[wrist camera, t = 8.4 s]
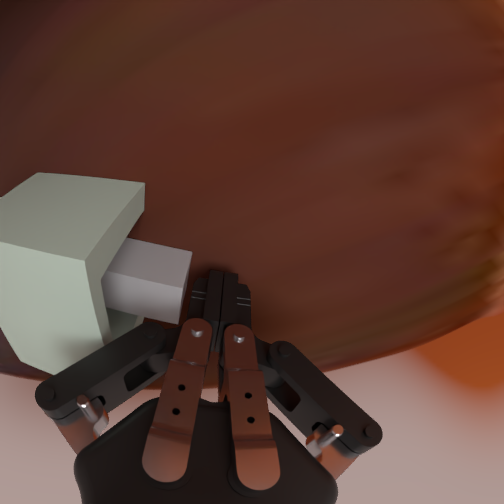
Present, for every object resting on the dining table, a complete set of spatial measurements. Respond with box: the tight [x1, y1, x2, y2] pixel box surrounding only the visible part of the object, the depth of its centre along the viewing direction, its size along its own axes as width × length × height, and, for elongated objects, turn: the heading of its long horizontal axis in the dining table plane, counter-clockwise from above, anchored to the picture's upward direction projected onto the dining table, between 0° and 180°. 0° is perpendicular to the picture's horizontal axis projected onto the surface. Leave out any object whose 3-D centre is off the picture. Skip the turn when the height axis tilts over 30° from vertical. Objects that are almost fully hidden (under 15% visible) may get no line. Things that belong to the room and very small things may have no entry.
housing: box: [0, 173, 145, 375], centre depth 12 cm, size 7×9×6 cm
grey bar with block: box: [0, 197, 192, 324], centre depth 12 cm, size 17×4×5 cm, turn 75°
